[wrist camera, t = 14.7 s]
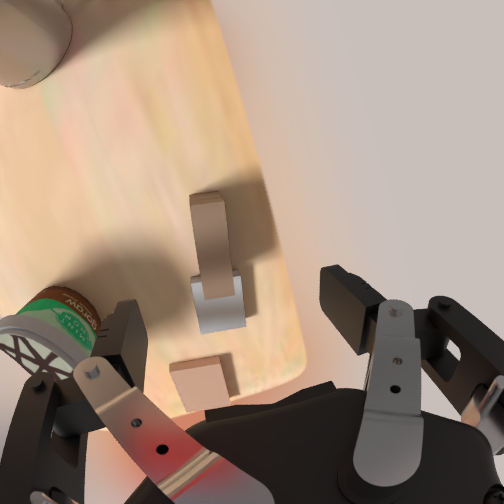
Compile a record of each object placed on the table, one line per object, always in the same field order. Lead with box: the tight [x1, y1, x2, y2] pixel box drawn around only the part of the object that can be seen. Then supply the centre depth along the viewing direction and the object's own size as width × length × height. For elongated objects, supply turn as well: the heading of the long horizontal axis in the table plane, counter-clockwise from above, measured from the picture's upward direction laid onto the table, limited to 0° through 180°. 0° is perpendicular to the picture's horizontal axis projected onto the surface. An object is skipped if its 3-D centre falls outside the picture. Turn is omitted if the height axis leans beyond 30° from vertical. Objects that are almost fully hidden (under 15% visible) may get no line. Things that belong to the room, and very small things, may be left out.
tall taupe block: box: [189, 191, 246, 334], centre depth 26 cm, size 14×5×5 cm, turn 5°
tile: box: [169, 356, 231, 412], centre depth 33 cm, size 2×6×8 cm
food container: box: [0, 286, 101, 381], centre depth 22 cm, size 12×6×10 cm, turn 47°
